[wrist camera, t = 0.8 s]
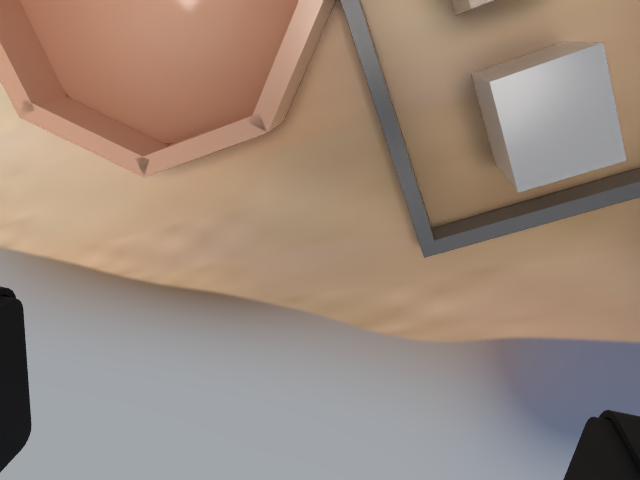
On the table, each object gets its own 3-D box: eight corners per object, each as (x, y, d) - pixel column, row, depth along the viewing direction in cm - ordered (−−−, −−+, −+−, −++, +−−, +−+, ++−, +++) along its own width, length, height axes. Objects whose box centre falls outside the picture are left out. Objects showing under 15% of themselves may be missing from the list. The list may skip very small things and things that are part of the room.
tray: (627, -273, 23) (648, -301, 21) (696, 166, 28) (717, 175, 26) (304, -120, 26) (297, -133, 24) (422, 244, 32) (424, 257, 30)
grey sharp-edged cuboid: (560, 42, 27) (603, 42, 21) (581, 137, 28) (626, 160, 23) (470, 74, 28) (489, 82, 23) (495, 164, 30) (518, 192, 24)
